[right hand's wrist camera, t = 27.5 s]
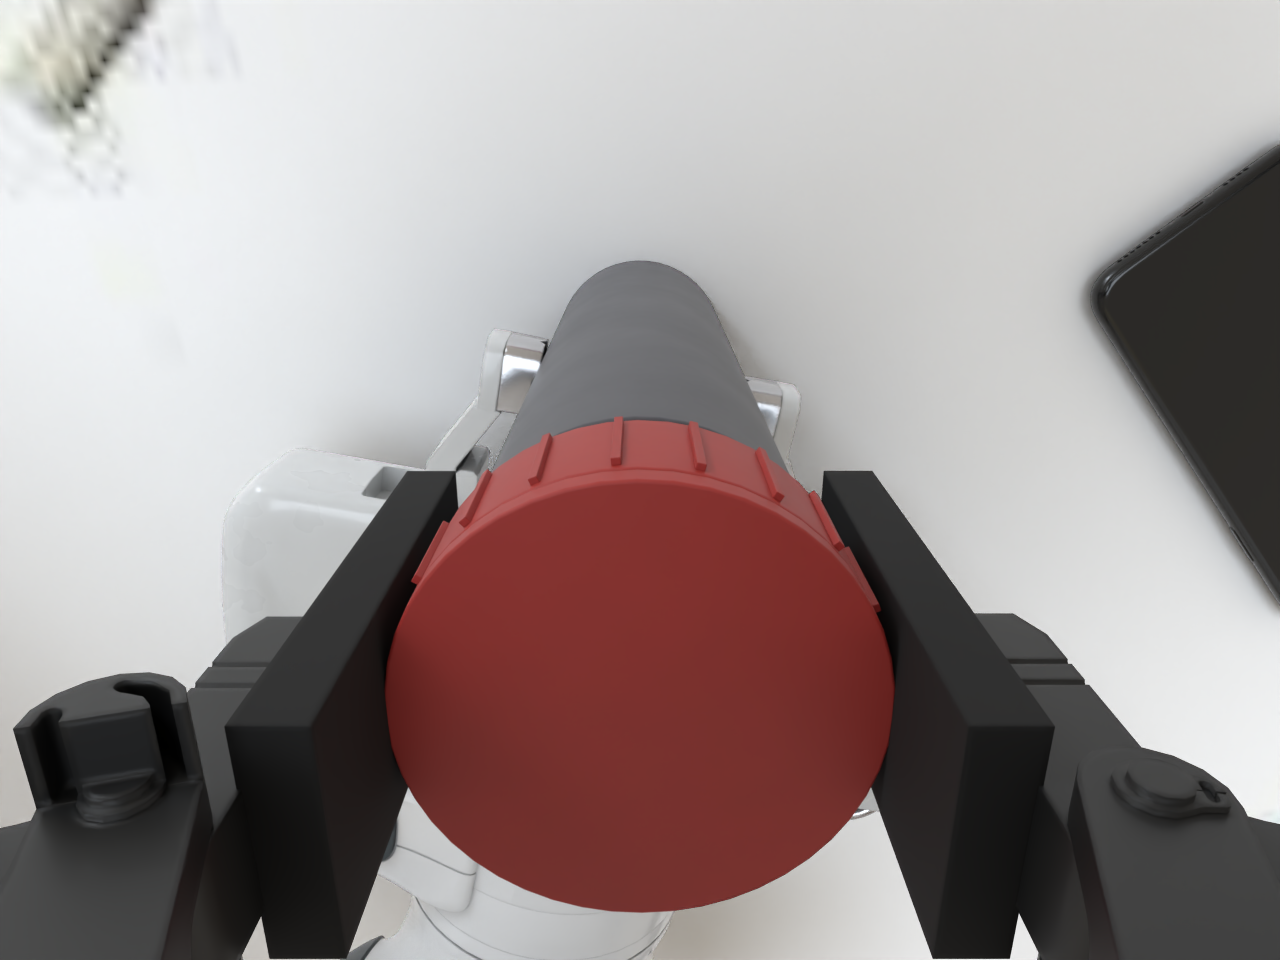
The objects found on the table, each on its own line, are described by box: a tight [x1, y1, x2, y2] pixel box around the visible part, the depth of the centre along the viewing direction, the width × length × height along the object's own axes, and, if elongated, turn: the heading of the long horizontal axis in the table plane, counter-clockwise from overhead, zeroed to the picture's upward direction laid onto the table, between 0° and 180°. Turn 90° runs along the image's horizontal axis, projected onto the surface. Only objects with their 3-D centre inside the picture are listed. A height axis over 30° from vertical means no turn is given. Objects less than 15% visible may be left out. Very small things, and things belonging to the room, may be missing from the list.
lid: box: [385, 416, 895, 913], centre depth 11 cm, size 6×6×2 cm
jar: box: [491, 261, 790, 475], centre depth 20 cm, size 5×5×20 cm
